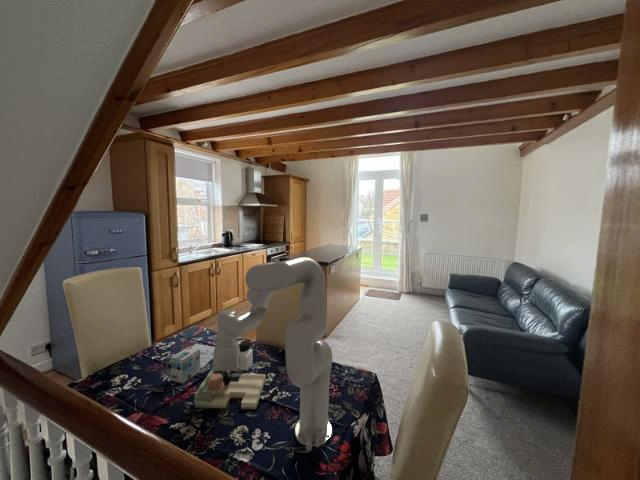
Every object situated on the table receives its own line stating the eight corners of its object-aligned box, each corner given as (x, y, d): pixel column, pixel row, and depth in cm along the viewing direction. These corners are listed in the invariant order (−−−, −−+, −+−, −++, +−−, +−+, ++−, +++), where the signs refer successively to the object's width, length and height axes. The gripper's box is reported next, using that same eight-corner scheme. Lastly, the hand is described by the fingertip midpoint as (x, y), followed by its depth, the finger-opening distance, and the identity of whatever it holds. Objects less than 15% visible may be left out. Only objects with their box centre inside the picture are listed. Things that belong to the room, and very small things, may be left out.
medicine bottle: (252, 362, 131) (252, 339, 130) (247, 371, 124) (247, 346, 123) (238, 361, 132) (238, 338, 130) (232, 369, 124) (232, 345, 123)
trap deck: (255, 409, 100) (255, 395, 99) (194, 407, 100) (194, 393, 99) (265, 379, 118) (265, 367, 117) (213, 378, 118) (213, 366, 117)
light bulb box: (182, 384, 113) (182, 360, 112) (170, 380, 115) (169, 357, 114) (201, 370, 123) (200, 348, 122) (189, 367, 125) (189, 345, 124)
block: (220, 390, 106) (219, 380, 106) (208, 389, 106) (208, 380, 106) (223, 383, 111) (223, 373, 110) (212, 382, 111) (212, 373, 110)
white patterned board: (167, 364, 128) (167, 360, 128) (196, 345, 148) (196, 341, 148) (201, 371, 124) (201, 366, 124) (226, 350, 143) (226, 346, 143)
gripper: (204, 344, 103) (205, 389, 105) (242, 346, 103) (242, 390, 105) (212, 336, 111) (212, 377, 112) (248, 337, 111) (248, 378, 112)
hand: (227, 383), depth 108 cm, fingers closed
